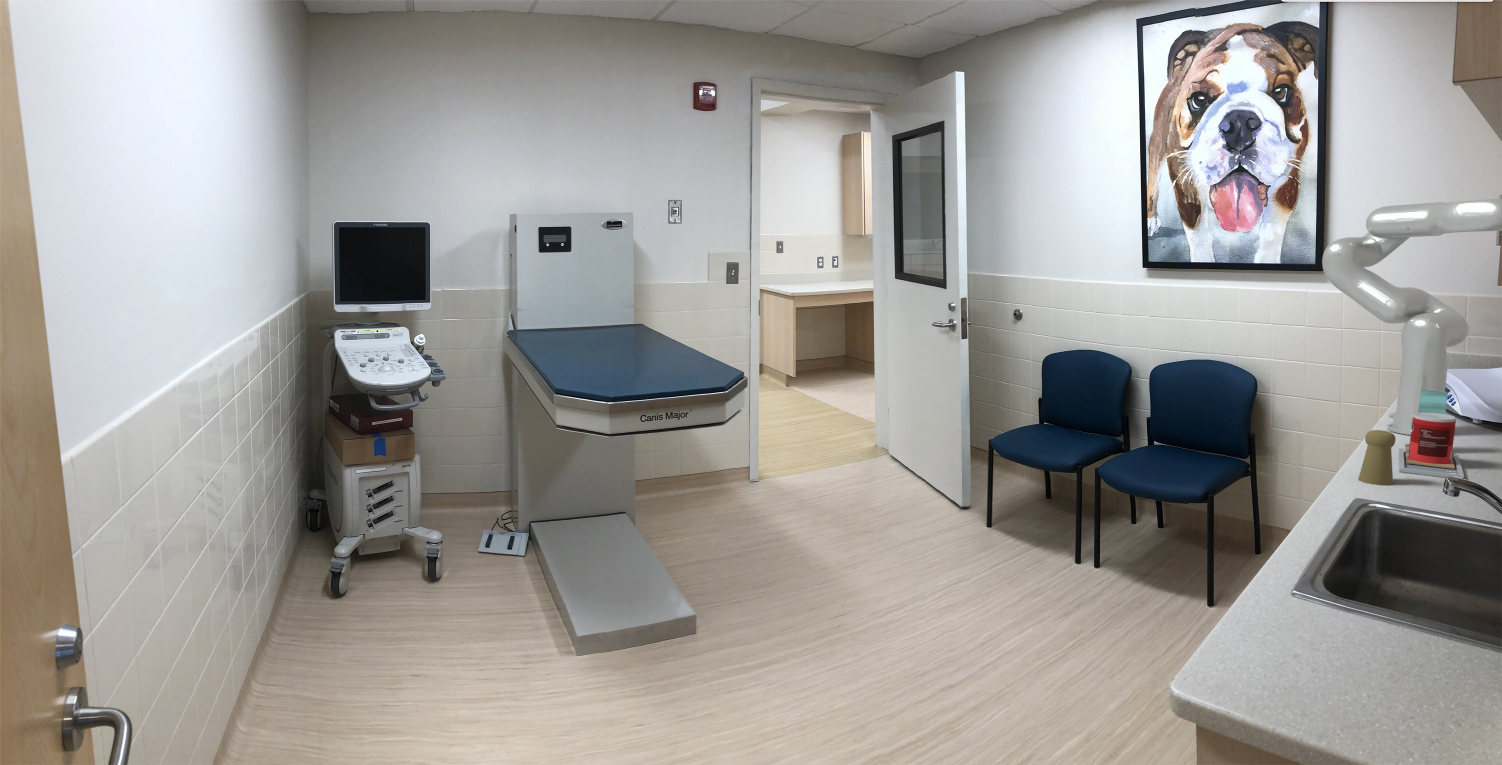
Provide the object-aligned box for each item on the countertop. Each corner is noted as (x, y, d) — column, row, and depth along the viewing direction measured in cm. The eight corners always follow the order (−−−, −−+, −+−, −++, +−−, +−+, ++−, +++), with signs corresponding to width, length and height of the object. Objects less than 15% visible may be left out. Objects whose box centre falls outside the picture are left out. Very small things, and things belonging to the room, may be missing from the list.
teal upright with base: (1454, 468, 190) (1462, 406, 187) (1406, 463, 195) (1413, 402, 192) (1449, 449, 206) (1456, 392, 204) (1405, 445, 211) (1411, 389, 209)
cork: (1381, 486, 179) (1387, 435, 177) (1351, 479, 184) (1357, 429, 182) (1399, 483, 181) (1405, 432, 179) (1369, 476, 187) (1375, 426, 185)
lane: (1463, 479, 183) (1464, 475, 183) (1399, 472, 189) (1399, 468, 189) (1457, 458, 200) (1457, 454, 200) (1398, 451, 207) (1399, 448, 207)
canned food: (1429, 457, 200) (1435, 411, 198) (1460, 466, 192) (1466, 418, 190) (1398, 458, 199) (1403, 412, 198) (1427, 467, 192) (1433, 420, 190)
